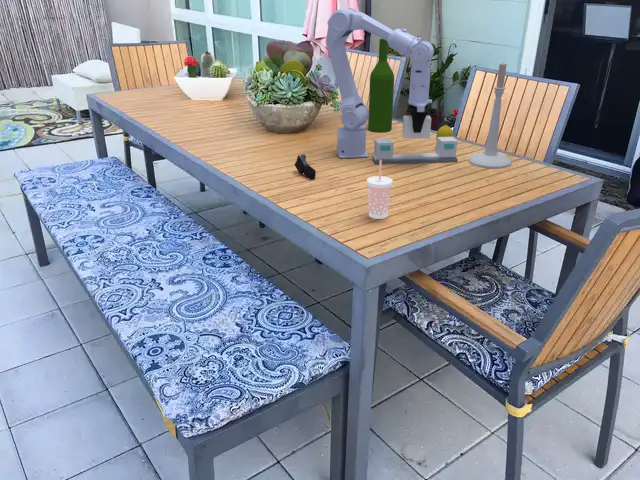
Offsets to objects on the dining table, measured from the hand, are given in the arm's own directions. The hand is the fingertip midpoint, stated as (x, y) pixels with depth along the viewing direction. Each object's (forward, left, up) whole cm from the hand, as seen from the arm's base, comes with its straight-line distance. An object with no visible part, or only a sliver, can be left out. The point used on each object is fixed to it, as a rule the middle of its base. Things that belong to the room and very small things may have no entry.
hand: (416, 130), depth 164 cm
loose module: (0, 0, -2) cm, 2 cm away
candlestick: (+23, -3, -10) cm, 26 cm away
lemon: (+13, +13, -10) cm, 21 cm away
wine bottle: (-4, +40, -10) cm, 42 cm away
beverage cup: (-19, -41, -10) cm, 46 cm away
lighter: (-35, -10, -10) cm, 37 cm away
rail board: (0, +1, -10) cm, 10 cm away
